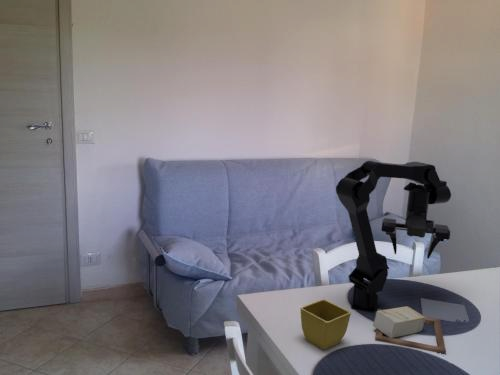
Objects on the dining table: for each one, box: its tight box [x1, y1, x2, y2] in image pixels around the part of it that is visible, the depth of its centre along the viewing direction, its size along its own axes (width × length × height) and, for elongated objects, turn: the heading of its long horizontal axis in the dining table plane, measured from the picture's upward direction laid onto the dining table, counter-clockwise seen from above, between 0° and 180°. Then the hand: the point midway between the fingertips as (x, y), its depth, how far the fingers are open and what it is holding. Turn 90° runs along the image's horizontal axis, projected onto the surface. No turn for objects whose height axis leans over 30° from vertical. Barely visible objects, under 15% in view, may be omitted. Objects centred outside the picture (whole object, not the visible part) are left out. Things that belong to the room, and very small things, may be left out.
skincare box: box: [372, 305, 425, 338], centre depth 114 cm, size 6×4×12 cm
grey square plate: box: [420, 297, 470, 323], centre depth 126 cm, size 12×12×1 cm
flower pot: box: [300, 299, 352, 350], centre depth 107 cm, size 9×9×9 cm
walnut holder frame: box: [374, 308, 447, 355], centre depth 114 cm, size 16×16×2 cm
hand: (411, 256), depth 133 cm, fingers open, 9 cm apart
